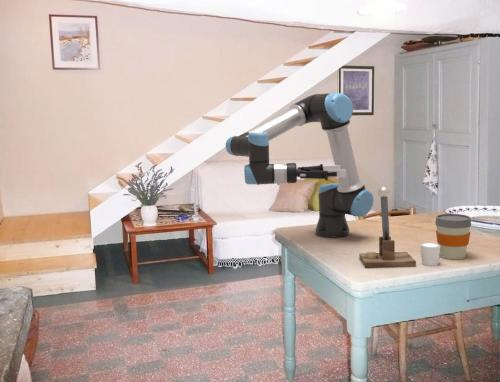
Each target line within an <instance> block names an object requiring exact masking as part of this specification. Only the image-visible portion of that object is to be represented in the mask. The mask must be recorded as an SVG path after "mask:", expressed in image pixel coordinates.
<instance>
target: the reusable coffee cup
mask: <svg viewBox="0 0 500 382" xmlns="http://www.w3.org/2000/svg"><path fill="white" fill-rule="evenodd" d="M471 218H472V217H471V216H470V215H466V214H461V213H443V214H438V215H436V218H435V225H436V231H435V235H436V242H437V243H436V244H439V245H440V253H439V257H441V258H443V259H447V260H462V259H465V258H466V253H467V248H468V245H469V243H470V238H471V237H470V236H471V232H470V230H471V226H472V220H471Z"/></svg>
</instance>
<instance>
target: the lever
mask: <svg viewBox="0 0 500 382" xmlns="http://www.w3.org/2000/svg"><path fill="white" fill-rule="evenodd" d="M377 194H378V196H379V197H380V210H381V211H380V212H381V225H382V226H381V228H382V236H383V240H390V237H391V236H390V222H389V221H390V219H389V202H388V199H389V198H388V197H389V195H390V188H388V187H387V186H381V187H379V188H378V191H377ZM381 246H382V245H381Z"/></svg>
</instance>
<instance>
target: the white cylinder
mask: <svg viewBox="0 0 500 382" xmlns="http://www.w3.org/2000/svg"><path fill="white" fill-rule="evenodd" d="M420 254H421V264H422V265H423V266H428V267H434V266H438V265H439V262H440V261H439V260H440V245H439V244H438V243H435V242H423V243H421V244H420Z"/></svg>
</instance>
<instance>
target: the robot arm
mask: <svg viewBox="0 0 500 382" xmlns="http://www.w3.org/2000/svg"><path fill="white" fill-rule="evenodd" d="M353 107H354V106H353V102H352V101H351V99H350V97H348V96H347V95H345V94H344V93H342V92H329V93H327V92H326V93H315V94H312V95H309V96H306V97H305V98H302V99H301V100H299V101H297V102H295V103H293V104H291V105H290V106H289V108H288V109H287V110H285V111H283V112H282V113H280V114H278V115H276V116H273V117H272V118H270V119H268V120H266V121H265V122H263V123H261V124H259V125H257V126H255V127H253V128H251V129H250V130H247V131H246V132H244V133H242V134H239V135H233V136H230V137H229V138H227V140H226V141H225V149H226V152H227V153H228V154H229V155H231V156H235V157H247V158H248V164H244V167H243V168H244V169H243V170H244V174H243V175H244V182H245V184H247V185H256V186H258V185H259V186H260V185H273V184H277V185H278V186H280V185H281V184H286V183H287V184H297V183H298V182H297V181H298V179H297V178H300V179H301V180H302V179H304V180H305V179H316V180H317V179H320V180H325V181H328V180H329V179H331V178H332V179H335V178H337V179H338V182H332V183H326V184H321V185H320V186H319V187H318V216H319V217H318V220H317V223H316V227H315V234H316V235H317V236H318V237H324V238H342V237H345V236H348V235H350V227H349V224H348V221H347V219H346V215H348V216H353V217H360V218H361V217H365V216H366V215H368V214H369V213H370V211H371V210H372V208H373V205H374V194H373V193H372V192H371V191H369V189H366V186H365V182H364V181H363V180H361V179H360V176H359V171H358V168H357V167H358V166H357V164H356V159H355V155H354V154H355V153H354V149H353V147H352V142H351V137H350V133H349V128H348V126H349V125H350V123H351V119H352V117H353V112H354V108H353ZM310 123H320V126H321V130H322V131H324V132H326V134H327V139H328V143H329V147H330V151H331V155H332V160H333V163H334V165H324V164H323V163H319V165H312V166H301V167H300V166H298V167H297V163H296V162H288V163H287V162H286V164H285V163H284V162H279V163H278V162H277V163H270V141H272V140H274V139H276V138H277V137H279V136H281V135H283V134H284V133H286V132H288V131H290V130H292V129H294V128H295V127H297V126H298V127H302V126H304V125H306V124H310ZM277 185H276V186H277Z"/></svg>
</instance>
